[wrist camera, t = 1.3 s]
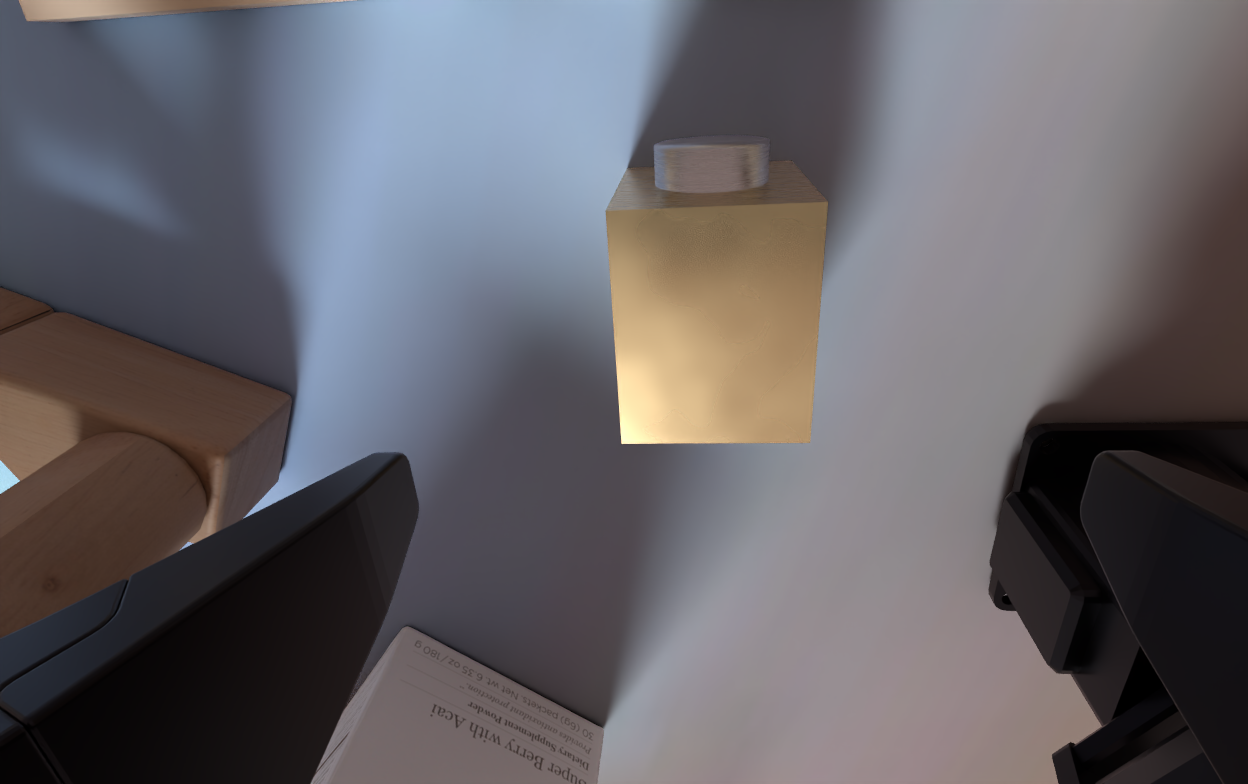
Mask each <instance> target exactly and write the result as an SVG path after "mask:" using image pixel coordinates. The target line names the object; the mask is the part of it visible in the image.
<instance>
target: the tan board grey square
mask: <svg viewBox="0 0 1248 784" xmlns="http://www.w3.org/2000/svg"><path fill="white" fill-rule="evenodd" d="M342 1H355V0H19V3H20V5H21V8H22V10H23V13H24V15H25V18H26V20H27V21H36V22H74V21H88V20H101V19H114V18H128V17H141V16H155V15H168V14H181V13H195V12H208V11H221V10H235V9H248V8H261V7H275V6H288V5H302V4H315V3H328V2H342Z"/></svg>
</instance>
